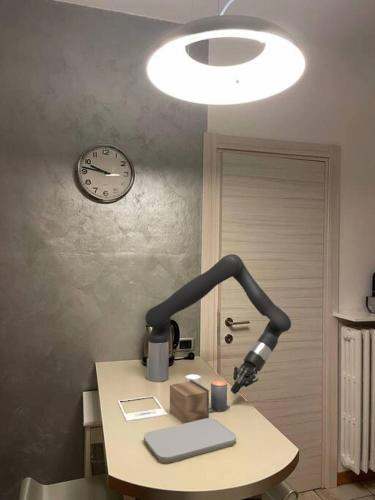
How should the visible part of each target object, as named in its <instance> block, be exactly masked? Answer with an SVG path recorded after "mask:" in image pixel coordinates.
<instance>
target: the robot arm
mask: <svg viewBox="0 0 375 500" xmlns="http://www.w3.org/2000/svg"><path fill="white" fill-rule="evenodd" d="M230 278H234V280H235V281H236V282H237V283H238V284H239V285H240V287H241V288H242V289H243V291H244V293H245V295H246V296H247V298H248V299H249V301H250V303H251V304H252V305H253V307H254V308H255V309H256V310H257V311H258V313H259V314H260V315H261V316H263V317H266V318H268V319H269V321H268V323H267V324H266V326H265V328H264V330H263V332H262V334H261V335H260V336H259V338H258V339H257V341H256V342H255V343H254V344H253V345H252V347H251V348H250V350H249V351H248V352H247V354H246V356H245V357H244V358H243V363H242V364H241V365H240V366H234V369H233V380H234V384H233V385H232V386H231V388H230V392H231V393H232V394H234V395H237V394H238V393H239V391H240V390H241V388H243V387H245V388H247V387H249V386H250V385H251V386H252V385H253V384H254V383H256V382H258V381H259V378H258V377H257V374H258V372H260V371H262V369H263V367H264V366H265V364H266V363H267V361H268V360H269V359H270V356H271V354H272V352H273V351H274V350H275V348H276V347H277V345H278V342H279V338H280V337H281V334H282V333H285V332H288V331H289V330H290V329H291V327H292V321H291V318H290V317H289V316H288V314H287V313H286V312H285V311H284V310H282V309H281V308H280V307H278V305H276V304H275V303H274V302H273V300H272V299H271V298H270V297H269V296H268V295H267V293H266V292H265V291H264V289H262V287H261V286H260V285H259V284H258V282H257V281H256V280H255V279H254V278H253V276H252V274H251V273H250V272H249V270H248V269H247V267H246V265H245V263H244V261H243V260H242V258H241V257H240V256H239V255H237V254H233V253H231V254H226V255H225V256H222V258H221V259H219V260H218V261H217V262H216V263H215V264H214V265H212V267H211V268H209V269H208V270H206V271H205V272H203V273H201V274H200V275H197V276H196V277H195V278H193V279H191V280H190V281H188V282H187V283H185V284H184V285H183V286H181V287H180V288H179V289H178V290H176V291H175V292H174V293H172V294H171V296H169V297H168V298H167V299H165V300H164V301H162V302H160V303H159V304H157V305H154V306H153V307H151V308H149V309H148V310H147V312H146V314H145V319H144V320H145V323H146V325H147V326H149V327H150V328H151V332H150V333H149V334H148V357H147V358H146V380H149V381H150V382H156V383H157V382H158V383H159V382H165V381H167V380H169V365H170V363H169V360H170V358H169V356H170V355H169V349H170V348H169V347H170V346H169V337H170V335H171V323H172V322H171V319H172V318H171V317H172V316H174V315H175V314H177V313H179V312H181V311H184V310H185V309H188V308H189V307H191V306H193V305H194V304H196V303H198V302H199V301H200V300H202V299H203V298H205V297H206V296H207V295H208V294H209V293H210V292H212V291H213V289H214V288H215V287H217V286H218V285H220V284H221V283H223V282H225V281H227V280H228V279H230Z"/></svg>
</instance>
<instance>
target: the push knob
mask: <svg viewBox="0 0 375 500" xmlns="http://www.w3.org/2000/svg"><path fill="white" fill-rule="evenodd" d="M227 405H228V382H227V380H225V379H223V378H222V379H220V378H217V379H216V378H215V379H212V380H211V381H210V408H212V409H215V410H221V411H223V410H224V409H225V410H227V409H226V408H227Z"/></svg>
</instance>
